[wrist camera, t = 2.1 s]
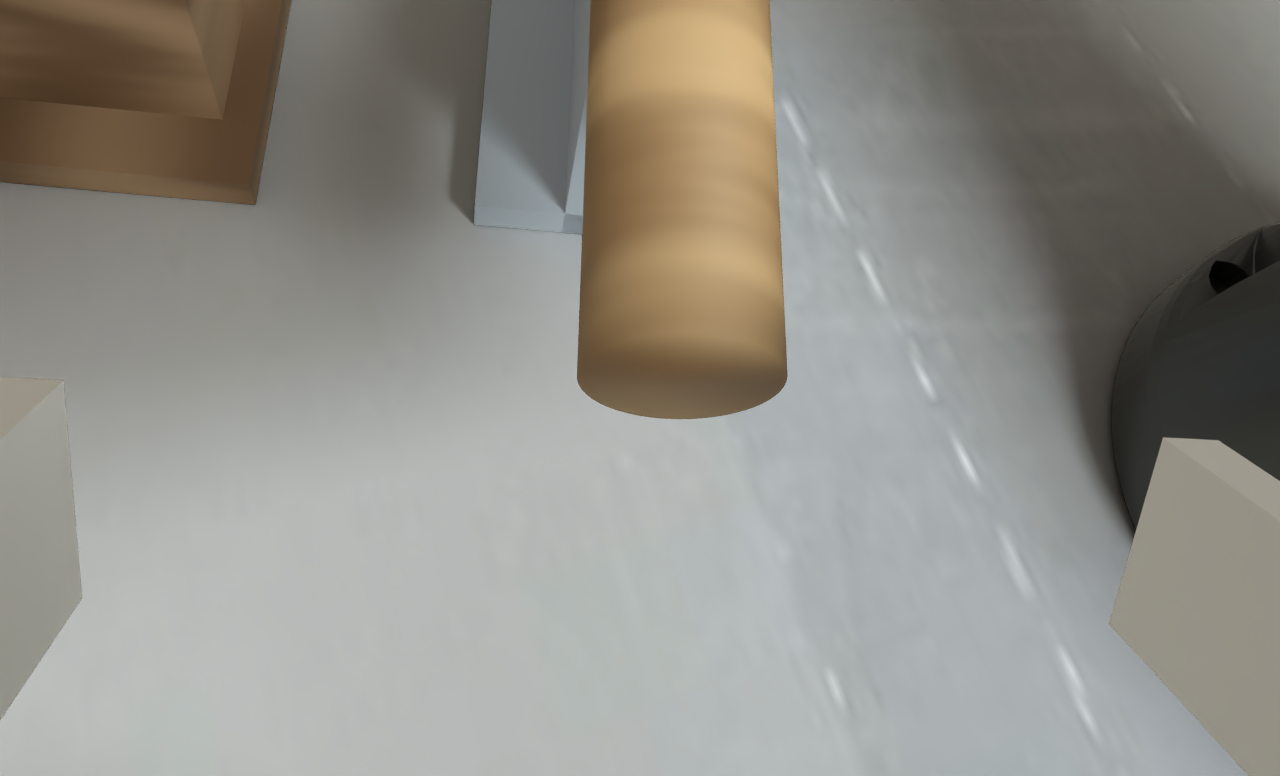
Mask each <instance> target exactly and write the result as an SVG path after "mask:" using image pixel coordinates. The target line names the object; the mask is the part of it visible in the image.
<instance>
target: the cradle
mask: <svg viewBox="0 0 1280 776" xmlns="http://www.w3.org/2000/svg"><path fill="white" fill-rule="evenodd" d="M590 3H591V0H492V1H491V13H490V25H489V37H488V49H487V62H486V74H485V86H484V98H483V110H482V122H481V134H480V147H479V159H478V171H477V183H476V195H475V210H474V225H484V226H495V227H507V228H518V229H529V230H540V231H551V232H562V233H573V234H582V226H583V198H584V170H585V142H586V115H587V87H588V59H589V31H590Z"/></svg>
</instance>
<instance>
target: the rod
mask: <svg viewBox="0 0 1280 776" xmlns="http://www.w3.org/2000/svg"><path fill="white" fill-rule="evenodd" d="M577 380H578V384H579V386H580V387H581V389H582V390H583V391H584V392H585V393H586V394H587V395H588V396H589V397H591V398H592V399H593V400H595V401H597V402H599V403H600V404H603V405H605V406H607V407H610V408H613V409H615V410H618V411H622V412H626V413H630V414H634V415H639V416H646V417H654V418H665V419H696V418H708V417H716V416H722V415H728V414H732V413H737V412H740V411H744V410H747V409H750V408H753V407H755V406H758V405H760V404H762V403H764V402H766V401H768V400H769V399H771V398H773V397H774V396H775V395H776V394H778V393H779V392H780V391H781V389H782V388H783V387H784V385H785V383H786V381H787V358H786V337H785V316H784V296H783V275H782V254H781V233H780V213H779V192H778V171H777V150H776V130H775V109H774V88H773V67H772V47H771V26H770V5H769V0H591V3H590V31H589V59H588V87H587V115H586V142H585V170H584V198H583V226H582V254H581V282H580V310H579V338H578V366H577Z"/></svg>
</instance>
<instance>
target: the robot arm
mask: <svg viewBox="0 0 1280 776" xmlns="http://www.w3.org/2000/svg"><path fill="white" fill-rule="evenodd" d="M1112 439H1113V448H1114V455H1115V462H1116V467H1117V472H1118V476H1119V481H1120V484H1121V488H1122V492H1123V495H1124V499H1125V502H1126V504H1127V507H1128V510H1129V513H1130V516H1131V519H1132V521H1133V523H1134V526H1135V528H1136V532H1135V536H1134V539H1133V543H1132V546H1131V550H1130V553H1129V557H1128V560H1127V563H1126V567H1125V570H1124V574H1123V577H1122V581H1121V584H1120V588H1119V591H1118V594H1117V598H1116V601H1115V605H1114V608H1113V612H1112V615H1111V619H1110V622H1109V624H1110V625H1111V627H1112V628H1113V629H1114V630H1115V631H1116V632H1117V633H1118V634H1119V635H1120V636H1121V637H1122V639H1123V640H1124V641H1125V642H1126V643H1127V644H1128V645H1129V646H1130V647H1131V648H1132V649H1133V650H1134V652H1135V653H1136V654H1137V655H1138V656H1139V657H1140V658H1141V659H1142V660H1143V661H1144V662H1145V664H1146V665H1147V666H1148V667H1149V668H1150V669H1151V670H1152V671H1153V672H1154V673H1155V674H1156V676H1157V677H1158V678H1159V679H1160V680H1161V681H1162V682H1163V683H1164V684H1165V685H1166V686H1167V687H1168V689H1169V690H1170V691H1171V692H1172V693H1173V694H1174V695H1175V696H1176V697H1177V698H1178V699H1179V701H1180V702H1181V703H1182V704H1183V705H1184V706H1185V707H1186V708H1187V709H1188V710H1189V711H1190V712H1191V714H1192V715H1193V716H1194V717H1195V718H1196V719H1197V720H1198V721H1199V722H1200V723H1201V724H1202V726H1203V727H1204V728H1205V729H1206V730H1207V731H1208V732H1209V733H1210V734H1211V735H1212V736H1213V737H1214V739H1215V740H1216V741H1217V742H1218V743H1219V744H1220V745H1221V746H1222V747H1223V748H1224V749H1225V751H1226V752H1227V753H1228V754H1229V755H1230V756H1231V757H1232V758H1233V759H1234V760H1235V761H1236V762H1237V764H1238V765H1239V766H1240V767H1241V768H1242V769H1243V770H1244V771H1245V772H1246V773H1247V774H1248V776H1280V222H1276V223H1273V224H1270V225H1267V226H1264V227H1261V228H1258V229H1255V230H1253V231H1251V232H1249V233H1246V234H1244V235H1242V236H1240V237H1238V238H1236V239H1234V240H1232V241H1230V242H1229V243H1227V244H1225V245H1223V246H1222V247H1220V248H1218V249H1217V250H1215V251H1214V252H1212V253H1211V254H1210V255H1208V256H1207V257H1206V258H1204V259H1203V260H1202V261H1201V262H1199V263H1198V264H1197V265H1196V266H1194V267H1193V268H1192V269H1191V270H1189V271H1188V272H1187V273H1186V274H1184V275H1183V276H1182V277H1181V278H1179V279H1178V280H1177V281H1176V282H1174V283H1173V284H1172V285H1171V286H1169V287H1168V288H1167V289H1166V290H1165V291H1164V292H1163V293H1161V294H1160V295H1159V296H1158V297H1157V298H1156V299H1155V300H1154V302H1153V303H1152V304H1151V305H1150V306H1149V307H1148V308H1147V310H1146V311H1145V312H1144V314H1143V315H1142V316H1141V318H1140V319H1139V321H1138V322H1137V324H1136V326H1135V327H1134V329H1133V331H1132V333H1131V335H1130V337H1129V339H1128V341H1127V343H1126V345H1125V348H1124V351H1123V353H1122V356H1121V359H1120V363H1119V366H1118V370H1117V373H1116V379H1115V384H1114V390H1113V400H1112ZM81 599H82V589H81V577H80V565H79V554H78V542H77V531H76V519H75V507H74V496H73V484H72V473H71V461H70V450H69V438H68V426H67V415H66V403H65V392H64V380H48V379H29V378H9V377H0V720H1V719H2V717H3V716H4V714H5V713H6V711H7V710H8V708H9V707H10V705H11V704H12V702H13V701H14V699H15V698H16V696H17V695H18V693H19V692H20V690H21V689H22V687H23V686H24V684H25V683H26V681H27V680H28V678H29V677H30V675H31V674H32V672H33V671H34V669H35V668H36V666H37V665H38V663H39V662H40V660H41V659H42V657H43V656H44V654H45V653H46V651H47V650H48V648H49V647H50V645H51V644H52V642H53V641H54V639H55V638H56V636H57V635H58V633H59V632H60V630H61V629H62V627H63V626H64V624H65V623H66V621H67V620H68V618H69V617H70V615H71V614H72V612H73V611H74V610H75V608H76V607H77V605H78V604H79V602H80V601H81Z"/></svg>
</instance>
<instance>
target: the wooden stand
mask: <svg viewBox="0 0 1280 776" xmlns="http://www.w3.org/2000/svg"><path fill="white" fill-rule="evenodd" d="M290 6H291V0H0V182H6V183H17V184H28V185H39V186H51V187H62V188H73V189H84V190H95V191H106V192H117V193H128V194H140V195H151V196H162V197H173V198H184V199H195V200H206V201H217V202H229V203H240V204H251V205H255V204H256V198H257V192H258V187H259V181H260V175H261V170H262V164H263V158H264V153H265V147H266V141H267V136H268V130H269V125H270V119H271V113H272V108H273V102H274V96H275V91H276V85H277V79H278V74H279V68H280V62H281V57H282V51H283V45H284V40H285V34H286V28H287V23H288V17H289V11H290Z"/></svg>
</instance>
